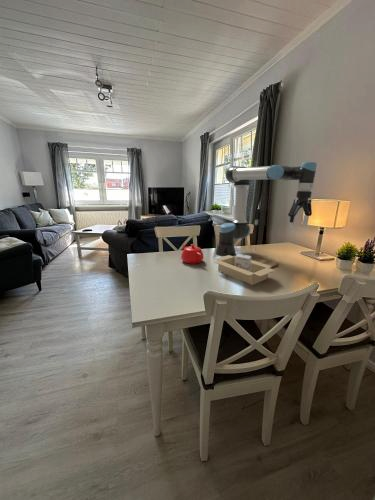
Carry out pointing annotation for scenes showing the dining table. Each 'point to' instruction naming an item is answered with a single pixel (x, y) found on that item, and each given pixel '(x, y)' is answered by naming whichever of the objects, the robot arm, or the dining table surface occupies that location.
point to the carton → (254, 276)
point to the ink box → (243, 261)
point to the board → (267, 262)
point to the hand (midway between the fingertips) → (298, 227)
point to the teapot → (192, 254)
